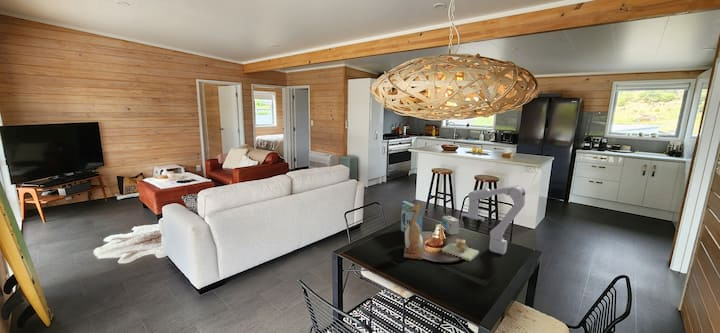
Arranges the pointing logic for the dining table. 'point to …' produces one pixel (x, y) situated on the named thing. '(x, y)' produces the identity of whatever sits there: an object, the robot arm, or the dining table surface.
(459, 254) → the green tile
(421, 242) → the figurine
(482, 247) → the dining table surface
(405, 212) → the gum box
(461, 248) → the maple block
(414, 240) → the bird sculpture
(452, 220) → the light bulb box
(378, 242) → the dining table surface
